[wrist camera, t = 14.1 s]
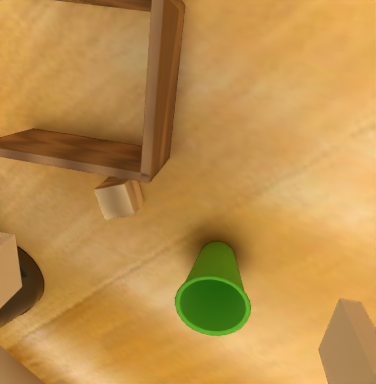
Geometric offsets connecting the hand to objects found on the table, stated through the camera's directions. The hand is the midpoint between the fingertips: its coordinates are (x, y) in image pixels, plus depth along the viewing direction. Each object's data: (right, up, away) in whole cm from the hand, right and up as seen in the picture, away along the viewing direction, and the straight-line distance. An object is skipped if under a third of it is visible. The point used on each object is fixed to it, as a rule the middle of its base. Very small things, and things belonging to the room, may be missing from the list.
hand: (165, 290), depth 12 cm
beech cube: (-8, +4, +31) cm, 32 cm away
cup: (+5, -6, +33) cm, 34 cm away
